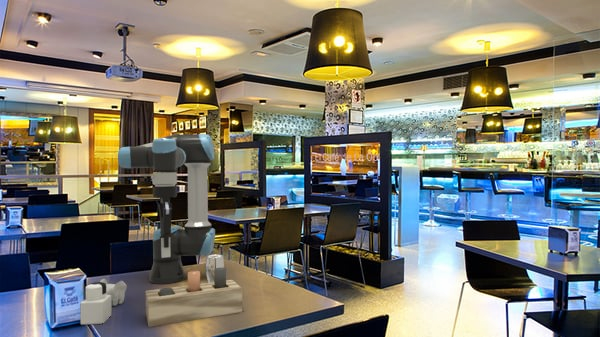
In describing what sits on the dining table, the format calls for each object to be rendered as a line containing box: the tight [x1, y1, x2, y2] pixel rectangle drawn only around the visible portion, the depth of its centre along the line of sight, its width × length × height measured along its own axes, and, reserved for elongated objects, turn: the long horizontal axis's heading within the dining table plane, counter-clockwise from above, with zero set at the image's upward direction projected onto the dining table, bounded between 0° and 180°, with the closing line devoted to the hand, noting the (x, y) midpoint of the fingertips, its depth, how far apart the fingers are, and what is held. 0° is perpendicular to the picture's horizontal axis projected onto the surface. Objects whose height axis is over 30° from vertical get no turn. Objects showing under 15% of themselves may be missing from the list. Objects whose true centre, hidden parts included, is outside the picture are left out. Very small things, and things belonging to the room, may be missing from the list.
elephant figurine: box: [99, 278, 128, 307], centre depth 148 cm, size 10×12×9 cm
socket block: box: [145, 279, 243, 328], centre depth 138 cm, size 12×30×8 cm, turn 115°
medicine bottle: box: [79, 281, 113, 325], centre depth 133 cm, size 7×7×12 cm
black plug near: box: [159, 287, 173, 296], centre depth 134 cm, size 4×4×8 cm
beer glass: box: [205, 254, 225, 283], centre depth 158 cm, size 7×7×15 cm
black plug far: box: [214, 267, 227, 289], centre depth 142 cm, size 4×4×8 cm
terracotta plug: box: [187, 269, 201, 293], centre depth 138 cm, size 4×4×8 cm
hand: (165, 256), depth 134 cm, fingers closed
